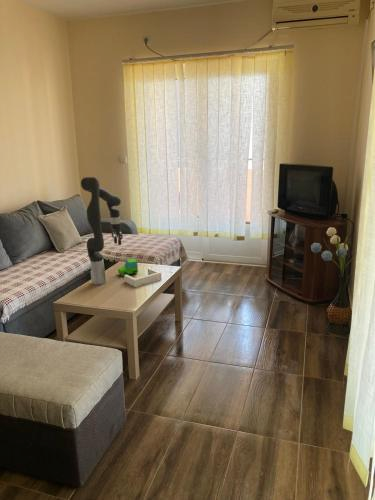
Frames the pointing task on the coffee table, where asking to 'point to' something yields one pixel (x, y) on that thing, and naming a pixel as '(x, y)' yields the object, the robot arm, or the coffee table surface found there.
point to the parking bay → (143, 278)
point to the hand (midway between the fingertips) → (117, 243)
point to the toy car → (129, 267)
